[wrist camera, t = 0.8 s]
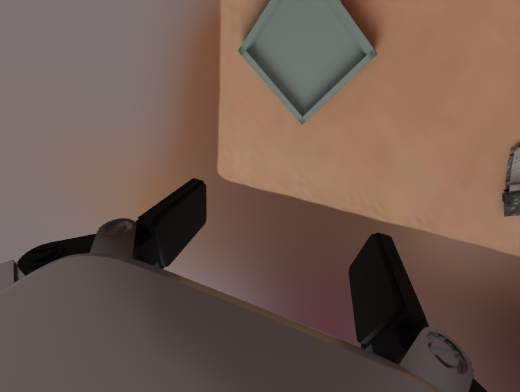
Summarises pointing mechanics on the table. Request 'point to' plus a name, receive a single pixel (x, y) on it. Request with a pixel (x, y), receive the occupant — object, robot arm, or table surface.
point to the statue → (512, 185)
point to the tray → (306, 51)
